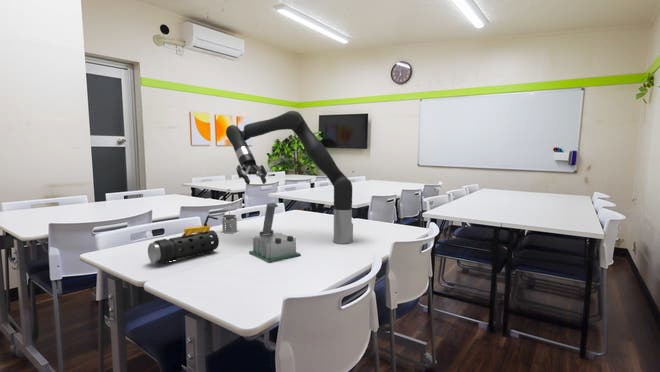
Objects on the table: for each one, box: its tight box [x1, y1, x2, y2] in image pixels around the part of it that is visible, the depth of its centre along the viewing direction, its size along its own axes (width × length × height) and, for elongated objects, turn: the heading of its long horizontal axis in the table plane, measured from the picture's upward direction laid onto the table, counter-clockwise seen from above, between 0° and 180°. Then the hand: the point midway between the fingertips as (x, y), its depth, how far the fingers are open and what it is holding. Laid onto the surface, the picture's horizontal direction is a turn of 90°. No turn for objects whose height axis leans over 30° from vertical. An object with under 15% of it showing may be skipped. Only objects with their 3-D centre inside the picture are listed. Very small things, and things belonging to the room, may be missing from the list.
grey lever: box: [262, 202, 279, 235], centre depth 161 cm, size 4×16×3 cm
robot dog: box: [181, 215, 219, 236], centre depth 179 cm, size 6×18×13 cm, turn 127°
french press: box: [219, 188, 239, 235], centre depth 201 cm, size 10×12×25 cm
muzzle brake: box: [147, 229, 220, 265], centre depth 153 cm, size 10×28×10 cm, turn 142°
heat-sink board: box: [248, 229, 302, 264], centre depth 159 cm, size 16×18×10 cm
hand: (256, 183), depth 168 cm, fingers open, 8 cm apart
